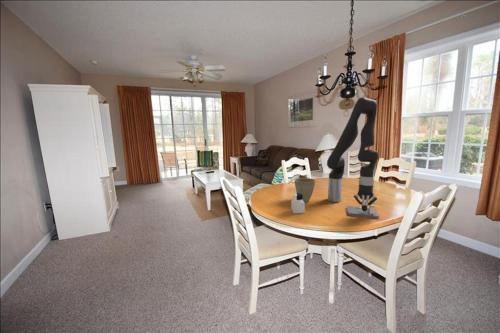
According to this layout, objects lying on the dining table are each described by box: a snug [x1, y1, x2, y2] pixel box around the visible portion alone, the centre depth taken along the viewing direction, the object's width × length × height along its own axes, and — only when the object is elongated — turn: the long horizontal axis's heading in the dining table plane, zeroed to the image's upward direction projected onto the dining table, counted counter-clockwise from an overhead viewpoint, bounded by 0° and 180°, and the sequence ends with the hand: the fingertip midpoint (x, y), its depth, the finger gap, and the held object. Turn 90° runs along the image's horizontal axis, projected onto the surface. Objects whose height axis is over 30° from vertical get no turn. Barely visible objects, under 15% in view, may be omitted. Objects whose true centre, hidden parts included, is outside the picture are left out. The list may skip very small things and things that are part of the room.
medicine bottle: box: [290, 192, 306, 214], centre depth 139 cm, size 7×7×12 cm
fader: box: [368, 204, 376, 214], centre depth 129 cm, size 2×3×5 cm
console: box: [346, 205, 380, 220], centre depth 135 cm, size 16×13×2 cm
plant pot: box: [294, 177, 316, 203], centre depth 160 cm, size 15×15×16 cm
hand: (364, 211), depth 131 cm, fingers closed
